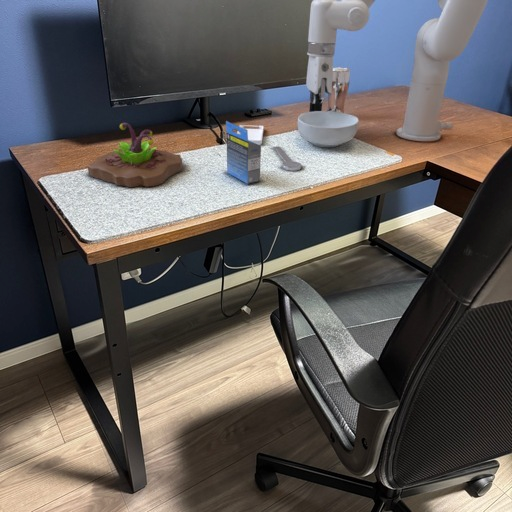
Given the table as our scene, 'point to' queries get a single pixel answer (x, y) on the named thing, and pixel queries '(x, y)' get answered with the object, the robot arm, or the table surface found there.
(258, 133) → the phone case
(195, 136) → the table surface
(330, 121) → the cereal bowl
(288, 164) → the spoon
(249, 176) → the blue cardboard box
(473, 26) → the robot arm
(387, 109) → the table surface
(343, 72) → the beer glass
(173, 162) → the plant
